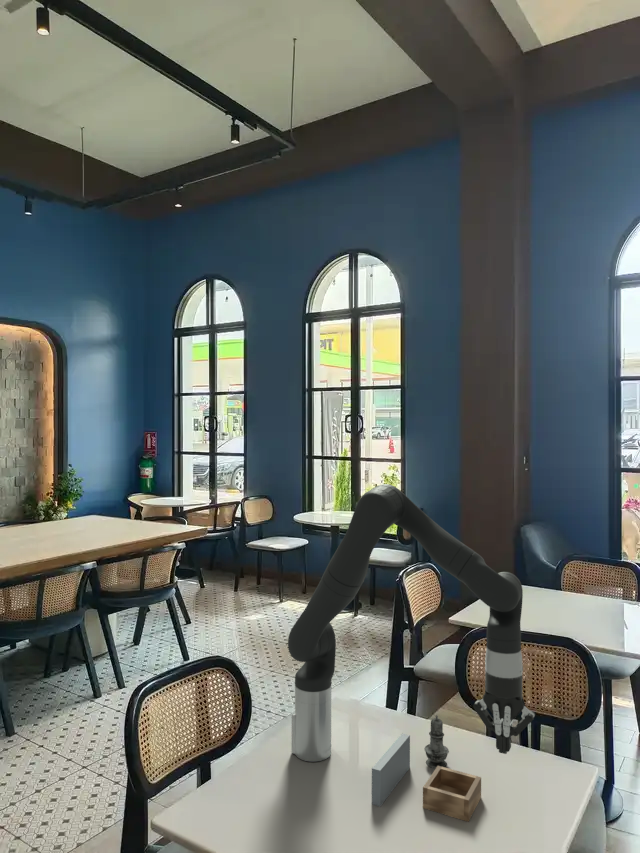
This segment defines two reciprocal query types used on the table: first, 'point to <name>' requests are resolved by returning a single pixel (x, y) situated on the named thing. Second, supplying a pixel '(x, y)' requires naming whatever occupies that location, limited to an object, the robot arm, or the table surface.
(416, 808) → the table surface
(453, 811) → the socket block
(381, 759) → the backstop board
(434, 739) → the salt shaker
